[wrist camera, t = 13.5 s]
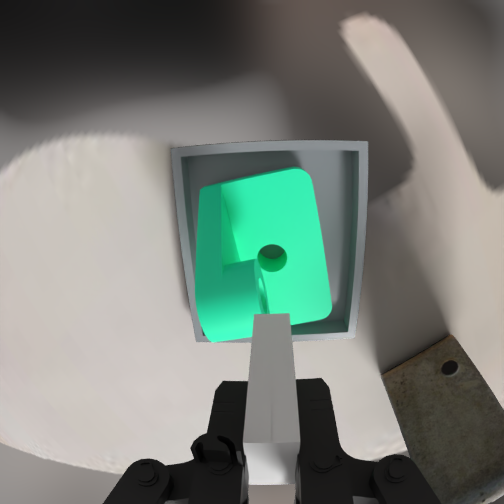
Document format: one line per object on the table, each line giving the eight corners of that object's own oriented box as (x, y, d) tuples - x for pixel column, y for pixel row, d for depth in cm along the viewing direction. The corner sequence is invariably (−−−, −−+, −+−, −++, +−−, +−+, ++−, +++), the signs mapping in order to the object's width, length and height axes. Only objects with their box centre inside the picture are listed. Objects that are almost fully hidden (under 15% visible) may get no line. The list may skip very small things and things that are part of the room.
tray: (358, 140, 22) (367, 141, 20) (349, 322, 28) (354, 338, 26) (180, 147, 23) (170, 148, 21) (201, 326, 29) (196, 341, 27)
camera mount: (328, 301, 27) (352, 382, 17) (243, 316, 28) (231, 401, 18) (304, 162, 23) (330, 182, 13) (206, 184, 24) (165, 217, 14)
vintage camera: (405, 428, 35) (443, 543, 16) (373, 370, 30) (430, 534, 12) (463, 393, 33) (518, 500, 14) (449, 325, 28) (542, 465, 10)
